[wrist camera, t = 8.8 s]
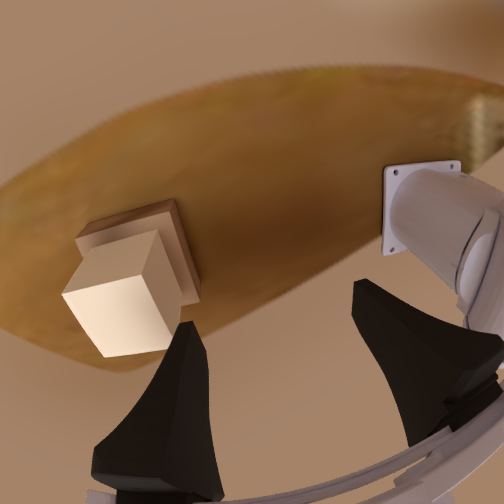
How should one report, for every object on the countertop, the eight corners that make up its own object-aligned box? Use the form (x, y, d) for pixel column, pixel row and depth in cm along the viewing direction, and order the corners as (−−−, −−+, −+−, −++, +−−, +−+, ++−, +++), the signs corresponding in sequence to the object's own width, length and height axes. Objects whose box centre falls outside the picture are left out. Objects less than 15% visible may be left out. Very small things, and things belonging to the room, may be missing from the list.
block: (157, 229, 16) (141, 274, 12) (182, 293, 19) (178, 347, 14) (91, 248, 16) (61, 294, 12) (120, 306, 18) (104, 357, 14)
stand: (174, 198, 18) (169, 211, 16) (200, 281, 21) (200, 302, 19) (87, 224, 18) (74, 239, 15) (122, 298, 21) (115, 318, 19)
